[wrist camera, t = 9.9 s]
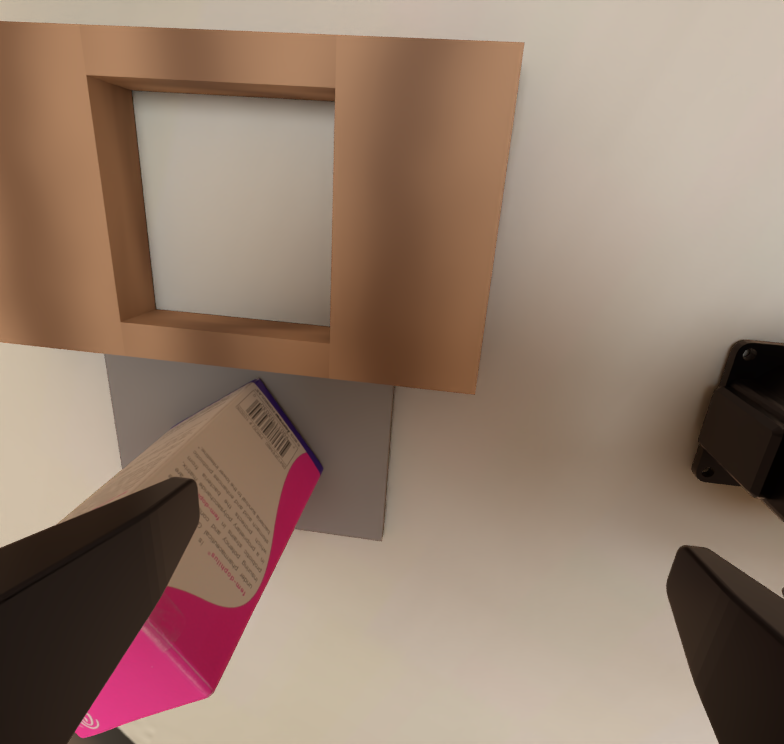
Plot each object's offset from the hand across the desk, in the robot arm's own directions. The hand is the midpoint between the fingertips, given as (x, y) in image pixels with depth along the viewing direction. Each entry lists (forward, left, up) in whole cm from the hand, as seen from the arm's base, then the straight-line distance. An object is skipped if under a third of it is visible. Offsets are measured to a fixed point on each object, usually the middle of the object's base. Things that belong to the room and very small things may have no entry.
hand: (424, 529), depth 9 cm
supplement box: (+9, +6, -13) cm, 17 cm away
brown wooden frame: (+9, -5, -13) cm, 16 cm away
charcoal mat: (+9, +6, -13) cm, 17 cm away
